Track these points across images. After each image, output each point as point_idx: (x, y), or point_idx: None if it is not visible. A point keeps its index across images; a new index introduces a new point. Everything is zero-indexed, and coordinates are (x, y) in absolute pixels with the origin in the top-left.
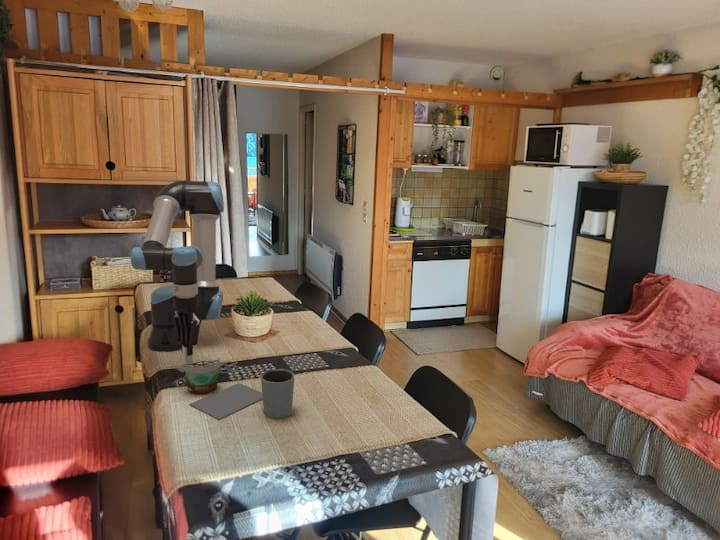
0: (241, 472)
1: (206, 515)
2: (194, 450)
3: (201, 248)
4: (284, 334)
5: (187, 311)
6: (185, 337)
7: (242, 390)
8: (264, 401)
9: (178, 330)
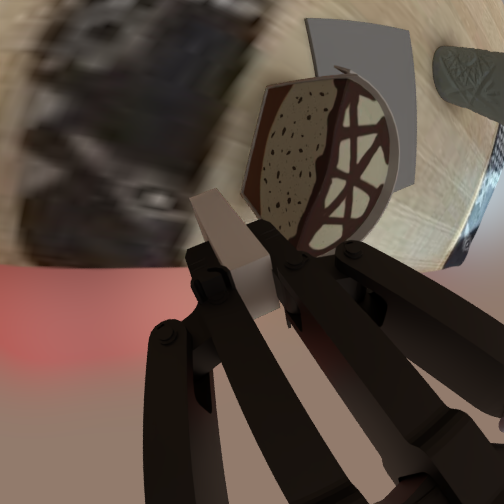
0: (469, 210)
1: (464, 255)
2: (426, 245)
3: None
4: None
5: None
6: (326, 367)
7: (358, 50)
8: (470, 109)
9: (217, 454)
